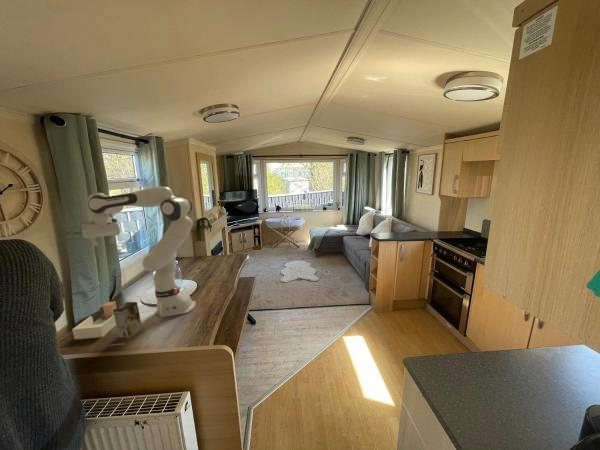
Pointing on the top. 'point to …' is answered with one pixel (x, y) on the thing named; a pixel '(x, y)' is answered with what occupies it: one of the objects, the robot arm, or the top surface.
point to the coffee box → (127, 319)
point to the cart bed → (93, 328)
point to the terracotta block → (109, 309)
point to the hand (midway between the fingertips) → (104, 244)
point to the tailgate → (100, 321)
